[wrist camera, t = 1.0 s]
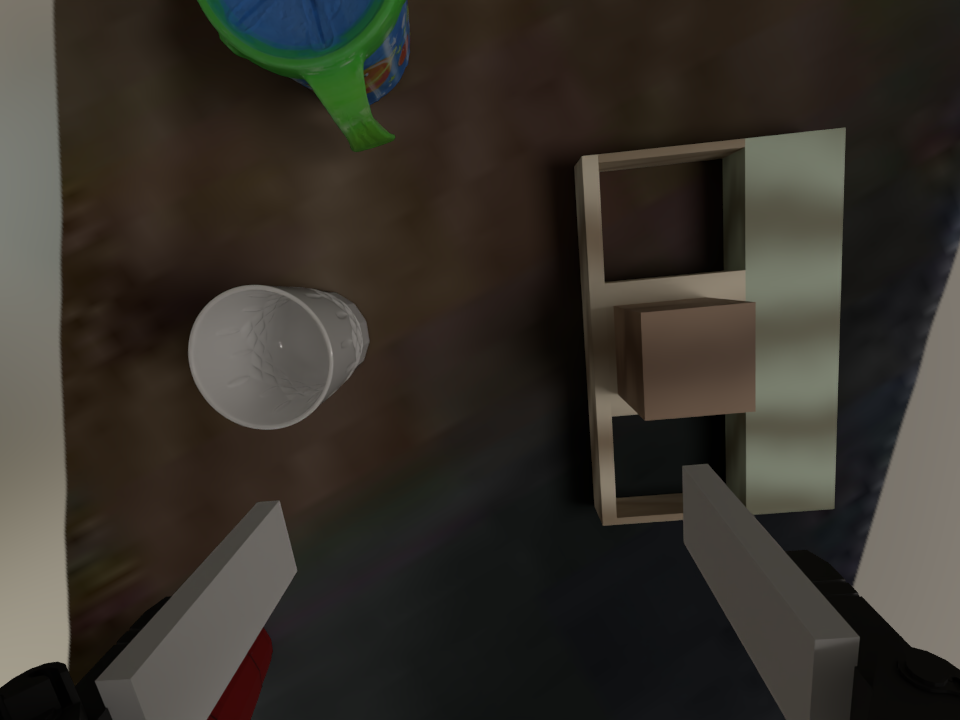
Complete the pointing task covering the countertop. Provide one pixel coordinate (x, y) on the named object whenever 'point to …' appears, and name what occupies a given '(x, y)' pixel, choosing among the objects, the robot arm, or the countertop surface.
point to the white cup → (274, 352)
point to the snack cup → (324, 51)
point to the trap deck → (746, 277)
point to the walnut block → (686, 357)
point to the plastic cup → (245, 683)
